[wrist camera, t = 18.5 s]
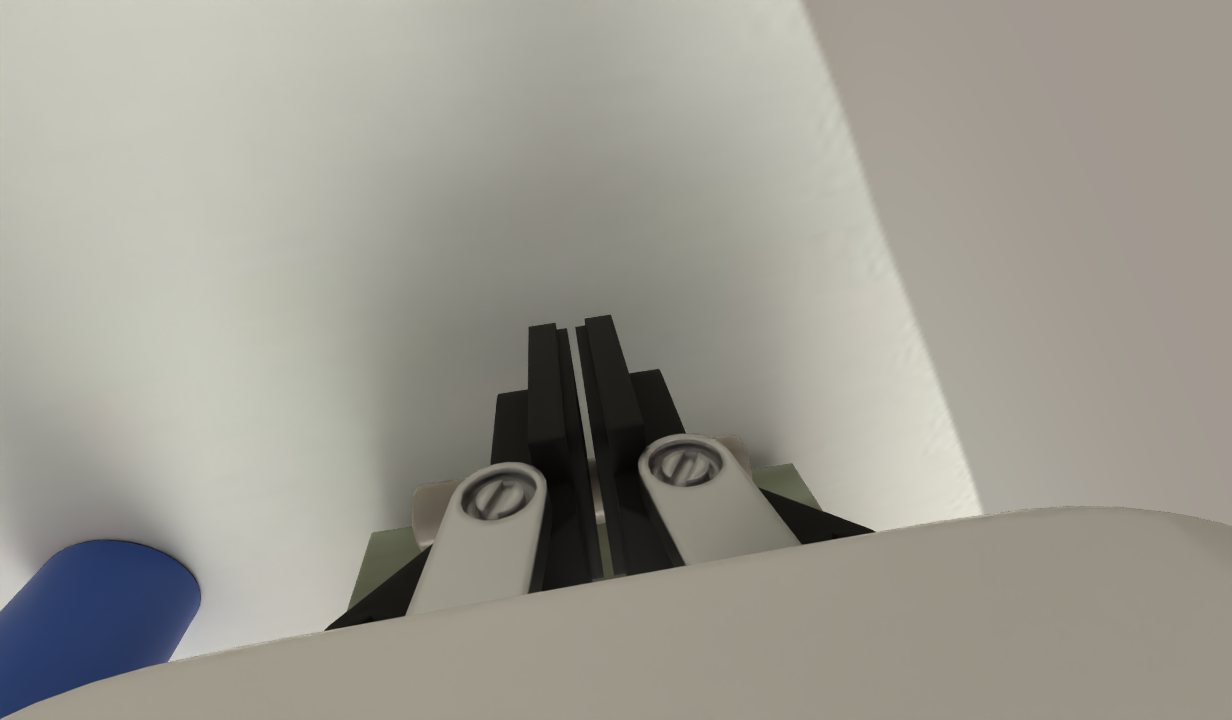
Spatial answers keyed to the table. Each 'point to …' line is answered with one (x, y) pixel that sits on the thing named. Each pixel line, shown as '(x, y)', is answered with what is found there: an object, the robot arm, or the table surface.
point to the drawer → (432, 501)
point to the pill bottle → (92, 620)
